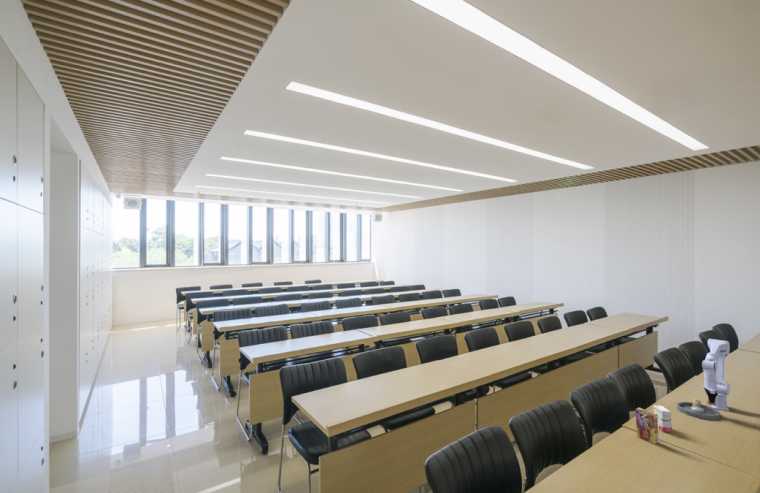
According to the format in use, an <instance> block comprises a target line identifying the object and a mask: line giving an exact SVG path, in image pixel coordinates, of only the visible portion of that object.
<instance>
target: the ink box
mask: <svg viewBox="0 0 760 493" xmlns="http://www.w3.org/2000/svg"><path fill="white" fill-rule="evenodd" d="M653 412H654V413H657V415H658V430H660V431H662V432H663V433H673V431H672V429H673V428H672V411H670V410H669V409H668V408H666V407H664V406H663V405H658V404H657V405H653Z"/></svg>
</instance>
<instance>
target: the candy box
mask: <svg viewBox="0 0 760 493" xmlns="http://www.w3.org/2000/svg"><path fill="white" fill-rule="evenodd" d="M635 422H636V423H635V425H636V428H635V429H636V438H639V439H642V440H644V441H647V442H650V443H652V444H654V445H655V444H657V443H659V428H658V415H657V413H654V411H651V410H648V409H645V408H641V407H637V408H635Z"/></svg>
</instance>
